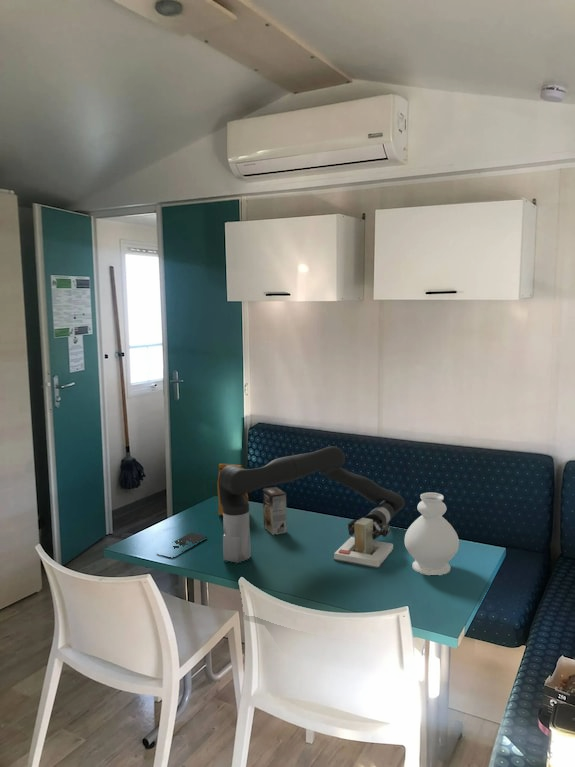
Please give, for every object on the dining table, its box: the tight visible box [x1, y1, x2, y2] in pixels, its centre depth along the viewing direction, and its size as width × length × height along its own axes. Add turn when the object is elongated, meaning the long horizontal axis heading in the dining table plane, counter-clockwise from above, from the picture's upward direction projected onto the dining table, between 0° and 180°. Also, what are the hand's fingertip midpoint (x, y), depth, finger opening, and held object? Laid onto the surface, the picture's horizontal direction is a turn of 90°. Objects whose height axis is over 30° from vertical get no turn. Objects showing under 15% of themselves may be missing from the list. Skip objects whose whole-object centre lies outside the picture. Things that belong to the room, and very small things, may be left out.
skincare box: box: [354, 517, 374, 554], centre depth 225 cm, size 6×4×12 cm
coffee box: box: [262, 486, 288, 536], centre depth 250 cm, size 9×6×16 cm
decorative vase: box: [404, 491, 460, 576], centre depth 213 cm, size 18×18×25 cm
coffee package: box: [216, 463, 249, 516], centre depth 268 cm, size 10×12×22 cm
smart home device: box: [173, 532, 208, 549], centre depth 238 cm, size 8×2×20 cm
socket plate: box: [333, 536, 394, 569], centre depth 226 cm, size 16×16×3 cm
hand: (361, 535), depth 223 cm, fingers open, 8 cm apart
